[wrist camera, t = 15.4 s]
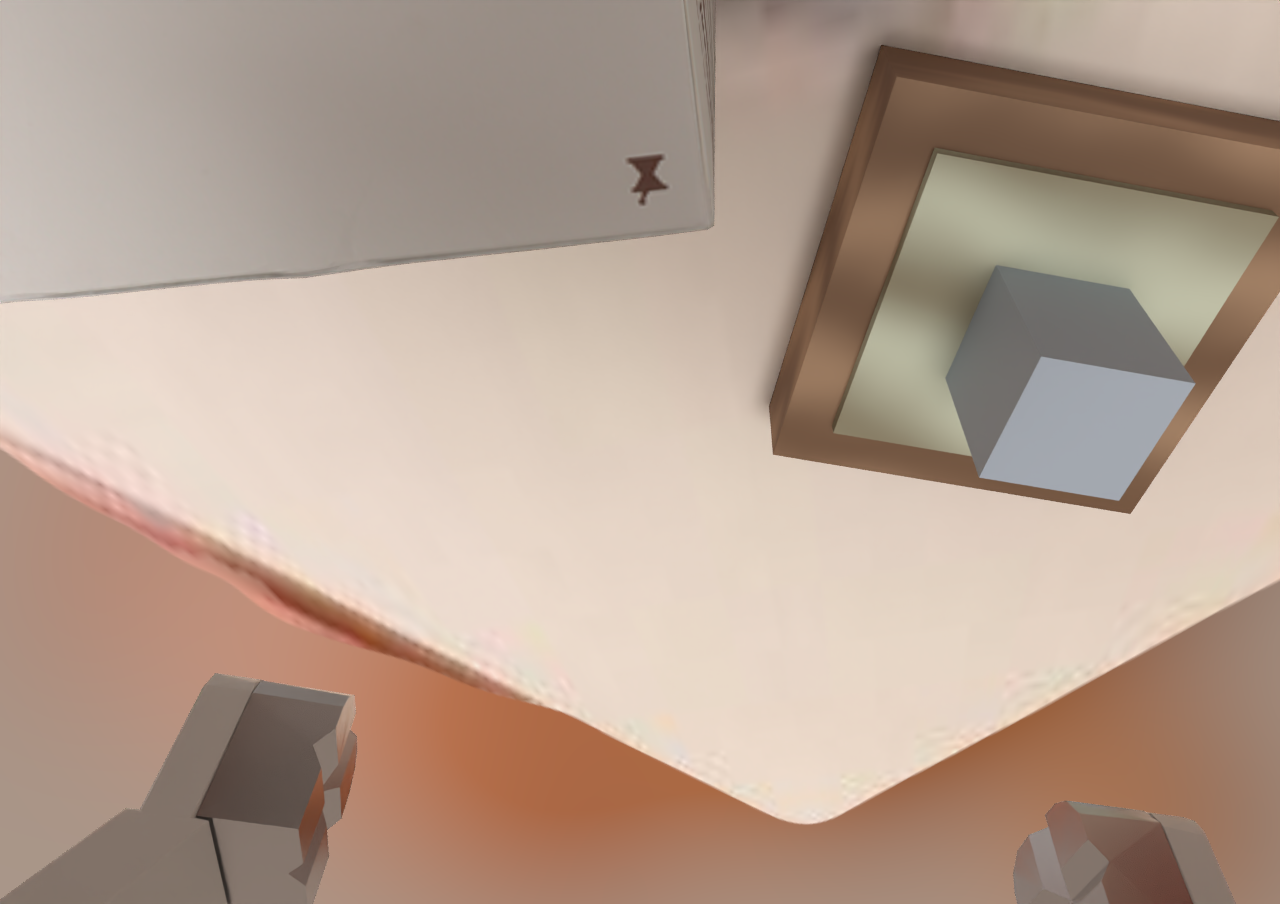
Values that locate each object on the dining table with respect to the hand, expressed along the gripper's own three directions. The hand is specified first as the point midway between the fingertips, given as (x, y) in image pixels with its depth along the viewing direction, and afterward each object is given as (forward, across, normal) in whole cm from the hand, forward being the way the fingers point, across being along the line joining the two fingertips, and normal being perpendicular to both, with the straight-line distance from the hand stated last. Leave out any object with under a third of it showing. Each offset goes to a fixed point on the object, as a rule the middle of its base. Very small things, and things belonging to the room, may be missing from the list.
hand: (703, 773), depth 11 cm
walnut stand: (+29, -14, +7) cm, 33 cm away
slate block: (+25, -14, +7) cm, 30 cm away
